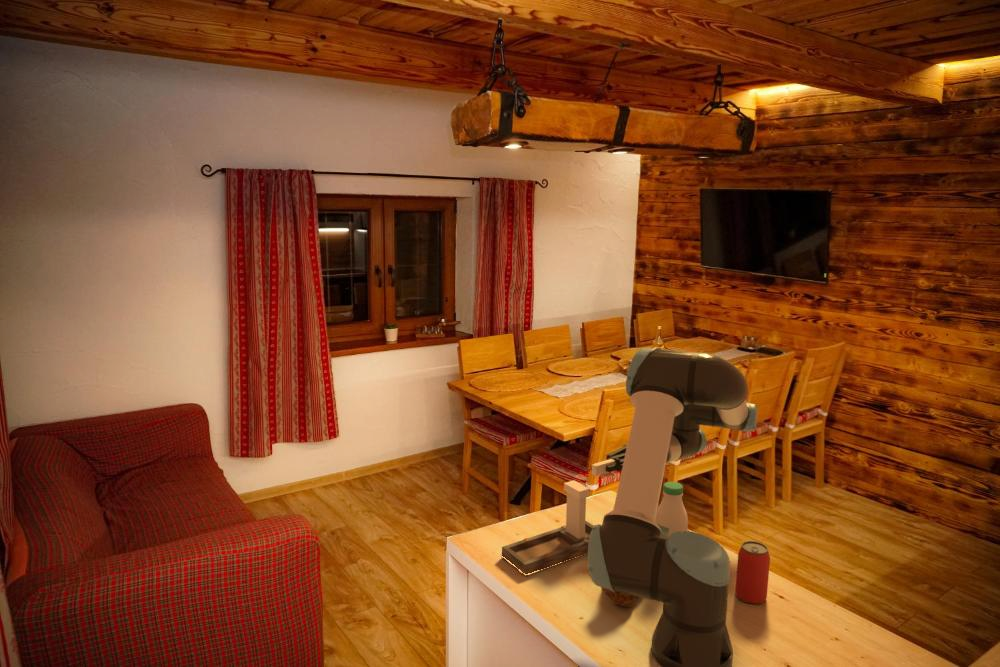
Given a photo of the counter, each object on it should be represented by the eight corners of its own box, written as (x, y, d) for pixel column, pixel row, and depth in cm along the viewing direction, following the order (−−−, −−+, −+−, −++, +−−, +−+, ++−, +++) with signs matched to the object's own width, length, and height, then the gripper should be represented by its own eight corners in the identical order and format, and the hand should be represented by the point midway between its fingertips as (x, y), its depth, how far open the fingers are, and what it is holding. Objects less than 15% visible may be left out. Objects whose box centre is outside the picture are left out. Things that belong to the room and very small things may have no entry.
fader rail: (583, 529, 181) (583, 518, 181) (609, 545, 173) (609, 534, 173) (501, 558, 167) (501, 546, 167) (525, 576, 159) (525, 564, 159)
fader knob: (574, 531, 177) (575, 479, 174) (591, 542, 172) (593, 488, 169) (559, 536, 175) (560, 483, 172) (575, 547, 169) (577, 493, 166)
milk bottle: (682, 554, 169) (687, 479, 165) (687, 571, 162) (692, 492, 158) (650, 553, 170) (654, 477, 166) (654, 569, 162) (658, 491, 158)
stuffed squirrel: (647, 582, 157) (649, 529, 155) (642, 618, 144) (645, 561, 141) (603, 575, 160) (605, 523, 157) (595, 610, 147) (597, 554, 144)
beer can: (735, 602, 150) (739, 552, 147) (734, 586, 156) (738, 537, 153) (767, 607, 148) (772, 556, 145) (765, 591, 154) (769, 542, 151)
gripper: (677, 471, 181) (610, 493, 169) (641, 455, 192) (576, 475, 179) (678, 445, 180) (611, 465, 167) (643, 430, 190) (577, 448, 178)
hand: (593, 470), depth 173 cm, fingers closed
